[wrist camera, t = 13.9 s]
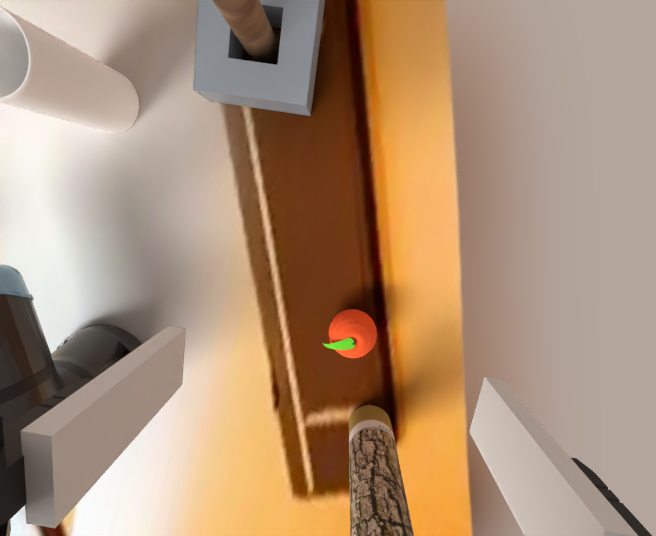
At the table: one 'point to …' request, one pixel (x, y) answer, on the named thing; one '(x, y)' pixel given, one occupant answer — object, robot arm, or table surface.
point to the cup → (61, 79)
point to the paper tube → (375, 477)
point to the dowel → (251, 28)
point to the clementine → (352, 333)
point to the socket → (255, 77)
